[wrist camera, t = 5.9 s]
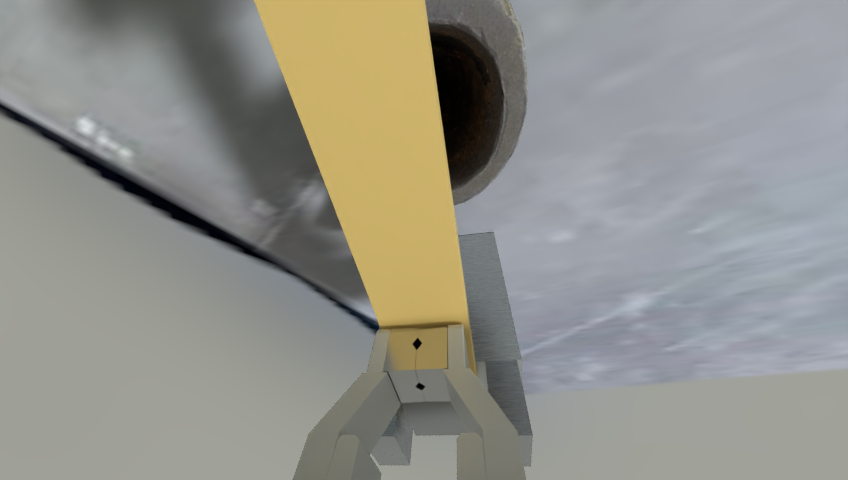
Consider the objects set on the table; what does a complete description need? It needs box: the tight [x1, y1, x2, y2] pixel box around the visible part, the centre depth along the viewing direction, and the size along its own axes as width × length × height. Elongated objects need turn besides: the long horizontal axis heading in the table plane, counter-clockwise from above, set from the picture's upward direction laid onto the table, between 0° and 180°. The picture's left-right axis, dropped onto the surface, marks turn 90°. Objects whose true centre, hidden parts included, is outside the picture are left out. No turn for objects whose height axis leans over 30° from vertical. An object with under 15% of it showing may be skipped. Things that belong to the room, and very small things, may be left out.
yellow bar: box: [254, 0, 478, 435], centre depth 8 cm, size 21×3×2 cm, turn 10°
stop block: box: [371, 232, 533, 466], centre depth 18 cm, size 3×7×13 cm, turn 100°
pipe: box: [425, 0, 527, 205], centre depth 14 cm, size 6×13×8 cm, turn 156°
